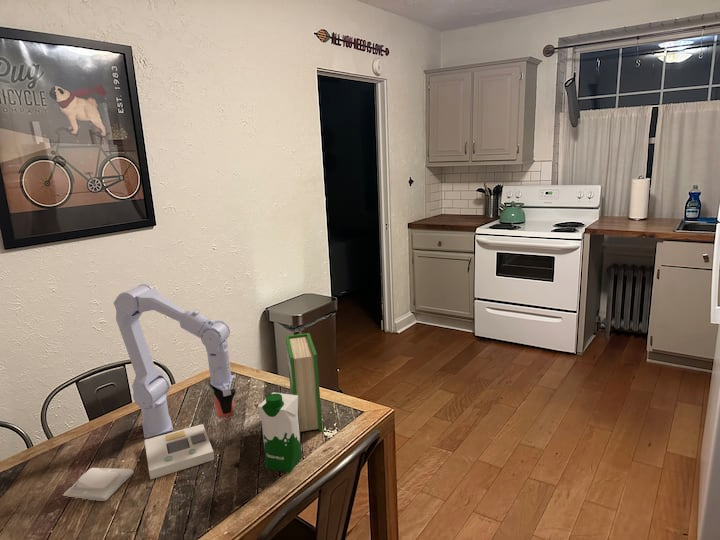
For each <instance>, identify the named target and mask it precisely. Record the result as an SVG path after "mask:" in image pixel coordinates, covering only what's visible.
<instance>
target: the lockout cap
mask: <svg viewBox="0 0 720 540" xmlns="http://www.w3.org/2000/svg"><path fill="white" fill-rule="evenodd" d="M213 401H214V410H215V416H216V417H218V418H229V417H231V416H233V415H234V414H235V404H234V402H235V401H234V399H233V400H232V408H231V412H230V413H227V414H223V412H222V409H221V406H220V403H219V400H218V399H217V398H216V396H215V395H214V398H213Z"/></svg>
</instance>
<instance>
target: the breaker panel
mask: <svg viewBox="0 0 720 540" xmlns="http://www.w3.org/2000/svg"><path fill="white" fill-rule="evenodd" d="M207 433H208V432H207V431H206V429H205V426H204V424H203V423H201V424H198V425H194V426H193V425H192V426H191V427H187V428H184V429H180V430H176V431H171V432H167V433H166V434H165V433H163V434H160V435H156V436H152V437H149V438H145V439H144V445H145V446H144V447H145V452H146V460H147V466H148V467H147V468H148V474H149V479H150V480H154V479H156V478H159V477H164V476H166V475H170V474H173V473H176V472H180V471H183V470H186V469H189V468H192V467H195V466H198V465H201V464H204V463H208V462H211V461H214V460H215V454H214V449H213V447H212V444H211V442H210V439H209V436H208V434H207ZM184 439H187V443H188V446H189V448H187V449H184V450H180V451H177V452H173V453H170V454H169V451H168V445H167V444H169V443H173V442H176V441H180V440H184Z"/></svg>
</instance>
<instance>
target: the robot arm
mask: <svg viewBox="0 0 720 540" xmlns="http://www.w3.org/2000/svg"><path fill="white" fill-rule="evenodd" d="M113 306H114V308H115V310H116V311H115V320H116V323H117V327H118V328H119V331H120V334H121V337H122V340H123V343H124V345H125V348H126V351H127V353H128V357H129V359H130V362H131V366H132V368H133V371H134V374H135V377H134V379H133V383H132V385H131V387H132V390H133V391H132V392H133V395H132V396H133V397H132V398H133V400H134V401H133V402H134V403H135V404H136V405H137V406H138V407H139V408H140V411H141V414H142V424H141V425H142V430H143V437H144V439H149V438H153V437H156V436H160V435H164V434H165V433H166V434H167V433H171V432H174V426H173V423H172V420H171V419H172V418H171V416H170V413H169V412H170V411H169V407H168V401H167V397H168V394H167V393H168V392H169V390H170V387H171V385H170V384H171V383H170V381H169V380H168V378H167V377H166V376H165V375H164V373H163V370H161V369H159V368H156V366H155V363H154V360H153V358H152V355H151V351H150V349H149V345H148V343H147V339H146V337H145V335H144V332H143V329H142V326H141V323H140V320H139V319H140V317H141V316H142V314H143V313H144V312H149V311H154V312H155V311H156V312H157V313H160V314H162V315H164V316H166V317H168V318H171V319H172V320H174V321H177V322H178V323H179V325H180V326H179V327H180V329H183V330H184V331H186V332H188V333H190V334H192V335H193V336H196V338H199V339H200V340H201V343H202V345H204V346H205V349H206V352H207V353H206V356H207V362H208V368H209V377H210V381H209V386H210V387H211V388H212V390H213V391H214V392H213V394H214V397H215V396H216V398H217V399H218V400H219V403H220V406H221V409H222V412H223V414H227V413H230V412H231V408H232V400H233V401H234V397H235V395H236V389H235V388H231V386H232V384H233V381H235V380H237V377H236V375H235V374H232V370H231V364H230V363H231V361H230V353H229V346H228V343H229V342H228V338H229V337H230V335H231V330H230V327H229V325H228V324H227V323H225V322H224V321H223V320H216V321H215V320H213V319H212V318H211V319H210V318H208V317H206V316H205V315H203V314H201V313H200V311H199V310H197V309H195V310H193V309H190V310H185V309H183V308H182V307H180V306H179V305H177V304H175V303H174V302H172V301H171V300H169V299H168V298H166V296H164V295H162V294H160V293H159V291H158V289H156V288H155V287H152V286H150V285H149V284H145V283H144V284H140V285H138V286H136V287H133V288H132V289H129V290H127V291H124V292H121V293H120V294H118V296H116V298H115V300H114V301H113Z"/></svg>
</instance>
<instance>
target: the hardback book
mask: <svg viewBox="0 0 720 540" xmlns="http://www.w3.org/2000/svg"><path fill="white" fill-rule="evenodd" d="M285 344H286V354H287V364H288V365H287V368H288V376H289V386H290V387H289V389H290V395H298V423H299V435H300V436H301V432H307V431H312V430H318V431H319V433H321V432H320V431H322V432H323V431H324V430H323V421H322V420H323V419H322V417H323V416H322V406H321V405H322V404H321V393H320V380H319V379H320V377H319V367H318V365H319V364H318V363H319V362H318V353H317V351H316V347H315V346H314V343H313V339H312V336H311V334H310V333H309V332H307V333H306V332H305V333H299V334H298V333H297V334H291V335H285Z"/></svg>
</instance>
